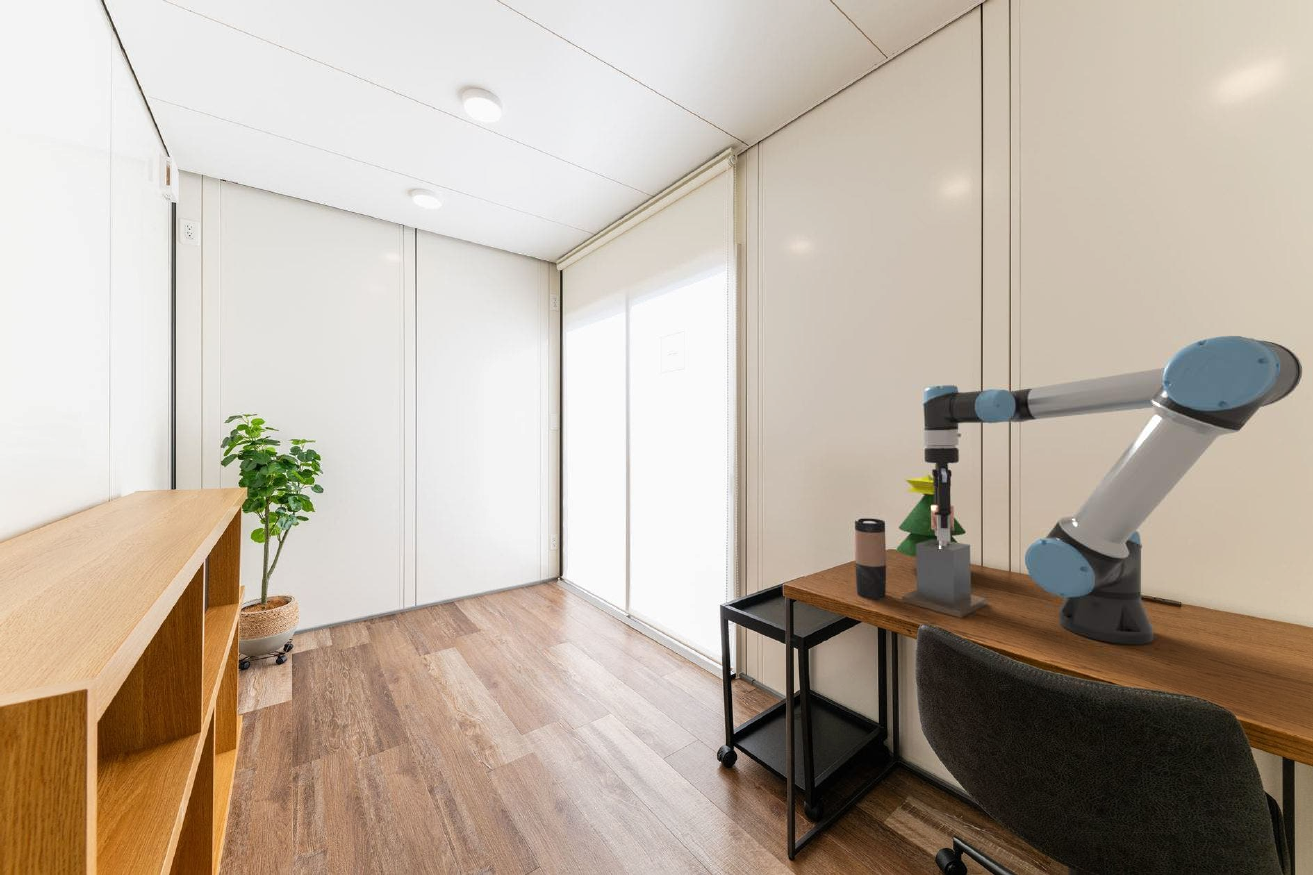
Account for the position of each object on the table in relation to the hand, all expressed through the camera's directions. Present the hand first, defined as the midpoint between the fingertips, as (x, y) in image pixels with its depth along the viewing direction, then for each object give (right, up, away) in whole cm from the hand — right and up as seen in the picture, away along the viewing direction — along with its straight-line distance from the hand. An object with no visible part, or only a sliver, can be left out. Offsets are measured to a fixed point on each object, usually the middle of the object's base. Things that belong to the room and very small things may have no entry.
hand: (942, 538), depth 125 cm
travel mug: (-15, -17, +8) cm, 24 cm away
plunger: (0, -13, 0) cm, 13 cm away
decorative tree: (+12, -16, +27) cm, 34 cm away
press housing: (0, -17, 0) cm, 17 cm away
